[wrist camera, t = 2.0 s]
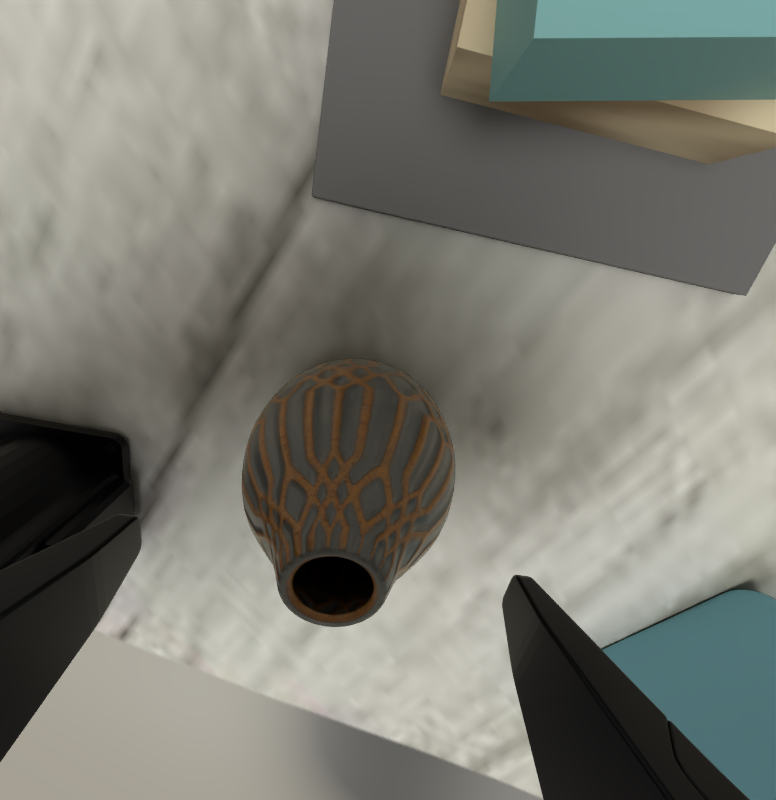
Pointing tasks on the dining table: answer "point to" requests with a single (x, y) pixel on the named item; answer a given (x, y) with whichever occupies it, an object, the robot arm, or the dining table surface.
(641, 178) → the charcoal mat
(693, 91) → the teal block
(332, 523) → the vase
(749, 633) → the light blue flat block
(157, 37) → the dining table surface
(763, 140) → the beech block
